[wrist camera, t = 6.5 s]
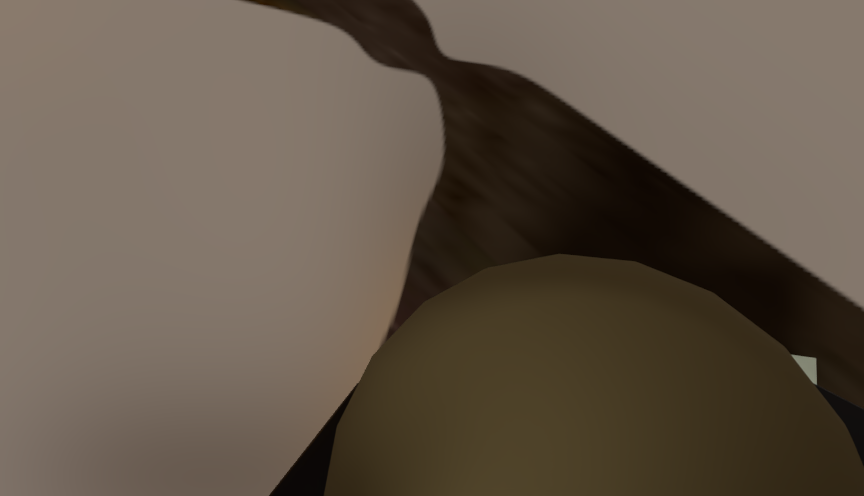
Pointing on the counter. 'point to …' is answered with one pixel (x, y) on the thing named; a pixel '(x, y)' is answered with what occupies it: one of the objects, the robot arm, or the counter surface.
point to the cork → (587, 395)
